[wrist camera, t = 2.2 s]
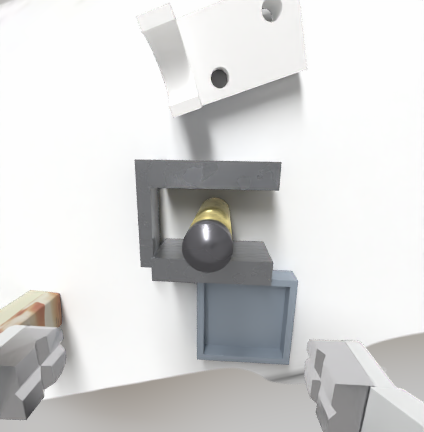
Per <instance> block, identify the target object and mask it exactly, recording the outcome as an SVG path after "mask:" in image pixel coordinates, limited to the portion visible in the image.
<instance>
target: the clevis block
mask: <svg viewBox="0 0 424 432" xmlns="http://www.w3.org/2000/svg"><path fill="white" fill-rule="evenodd" d="M280 173H281V162H249V161H190V160H135V174H136V191H137V208H138V225H139V243H140V260H141V267H152V281H169V282H193V283H216V284H239V285H263V286H271V282H272V270H273V261H272V259H271V257H270V255H269V253H268V251H267V249H266V246H265V244H264V242H255V241H233V254H232V257H231V260H230V261H229V263H228V264H227V265H226V266H225V267H224V268H222V269H221V270H219V271H216V272H211V273H206V272H200V271H197V270H195V269H194V268H192V267H191V266H190V265H189V264H188V263H187V262H186V260H185V259H184V256H183V253H182V242H183V239H165V241H164V242H163V243H162V244H161V246H160V222H159V195H158V188H188V189H231V190H275V191H279V185H280Z"/></svg>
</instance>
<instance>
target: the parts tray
mask: <svg viewBox="0 0 424 432" xmlns="http://www.w3.org/2000/svg"><path fill="white" fill-rule="evenodd" d="M297 287H298V280H297V278H296V277H295V275H294V273H293V272H292V271H282V270H272V282H271V286H263V285H239V284H216V283H197V359H201V360H218V361H235V362H252V363H269V364H285V365H289V358H290V349H291V340H292V331H293V322H294V313H295V304H296V295H297Z"/></svg>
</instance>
